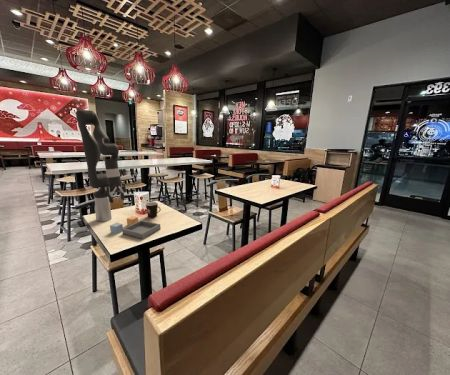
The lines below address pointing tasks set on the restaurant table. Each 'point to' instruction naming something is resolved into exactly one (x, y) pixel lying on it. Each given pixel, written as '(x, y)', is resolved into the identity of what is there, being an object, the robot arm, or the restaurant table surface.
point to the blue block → (116, 228)
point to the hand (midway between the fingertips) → (117, 201)
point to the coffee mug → (152, 209)
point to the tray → (141, 229)
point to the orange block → (132, 220)
